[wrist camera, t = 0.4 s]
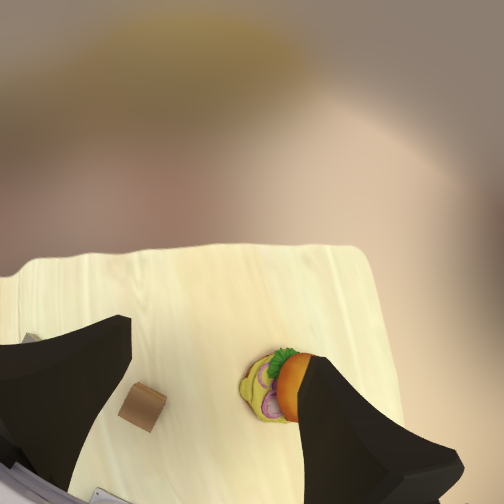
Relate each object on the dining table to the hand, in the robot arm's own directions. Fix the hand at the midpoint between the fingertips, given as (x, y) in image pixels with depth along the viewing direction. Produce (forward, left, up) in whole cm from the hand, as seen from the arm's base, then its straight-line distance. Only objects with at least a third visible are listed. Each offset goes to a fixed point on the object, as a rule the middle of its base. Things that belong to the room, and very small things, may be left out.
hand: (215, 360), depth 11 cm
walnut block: (-8, +2, -27) cm, 28 cm away
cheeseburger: (+2, -13, -27) cm, 30 cm away
